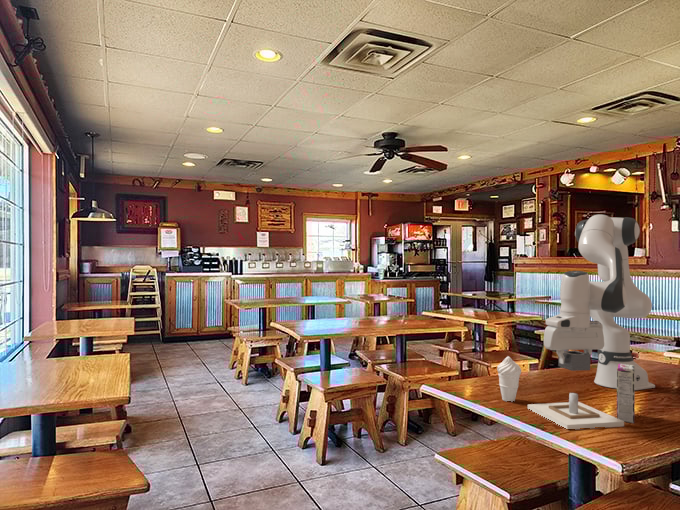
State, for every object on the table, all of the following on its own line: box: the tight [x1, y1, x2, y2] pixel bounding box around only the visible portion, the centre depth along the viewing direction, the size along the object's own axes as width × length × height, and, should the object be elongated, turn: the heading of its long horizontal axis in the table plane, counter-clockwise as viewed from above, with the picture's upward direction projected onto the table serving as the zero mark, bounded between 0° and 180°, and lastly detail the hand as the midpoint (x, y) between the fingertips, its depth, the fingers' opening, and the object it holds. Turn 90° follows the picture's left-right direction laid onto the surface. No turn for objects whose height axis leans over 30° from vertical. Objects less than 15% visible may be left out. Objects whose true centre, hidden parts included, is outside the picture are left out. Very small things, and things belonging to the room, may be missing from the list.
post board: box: [527, 392, 625, 430], centre depth 153 cm, size 20×20×8 cm
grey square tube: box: [557, 350, 591, 372], centre depth 153 cm, size 7×7×5 cm
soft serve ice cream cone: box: [496, 355, 522, 403], centre depth 170 cm, size 8×8×16 cm
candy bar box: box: [616, 364, 636, 424], centre depth 153 cm, size 11×5×16 cm, turn 148°
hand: (574, 363), depth 153 cm, fingers closed on grey square tube, 7 cm apart
